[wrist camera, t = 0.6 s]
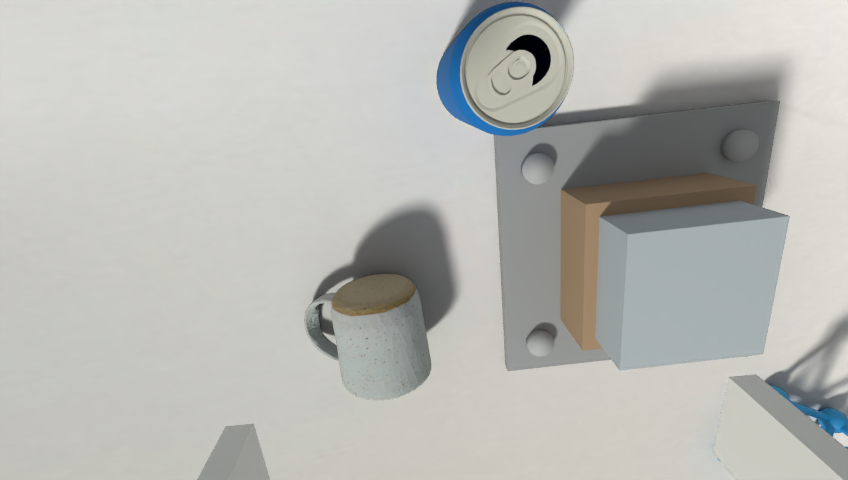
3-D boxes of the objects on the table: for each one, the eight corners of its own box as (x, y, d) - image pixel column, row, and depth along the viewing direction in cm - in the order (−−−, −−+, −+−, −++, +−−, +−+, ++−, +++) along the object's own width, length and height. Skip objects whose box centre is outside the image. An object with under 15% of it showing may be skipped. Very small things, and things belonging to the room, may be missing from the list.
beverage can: (536, 84, 32) (608, 77, 21) (471, 141, 33) (505, 164, 22) (485, 12, 30) (531, -38, 19) (418, 75, 31) (424, 63, 20)
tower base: (493, 132, 33) (528, 146, 24) (769, 100, 33) (914, 102, 24) (505, 364, 40) (535, 447, 31) (731, 339, 40) (830, 413, 31)
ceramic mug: (417, 262, 36) (417, 304, 29) (430, 342, 39) (433, 398, 32) (298, 279, 37) (269, 325, 29) (320, 357, 39) (298, 416, 32)
